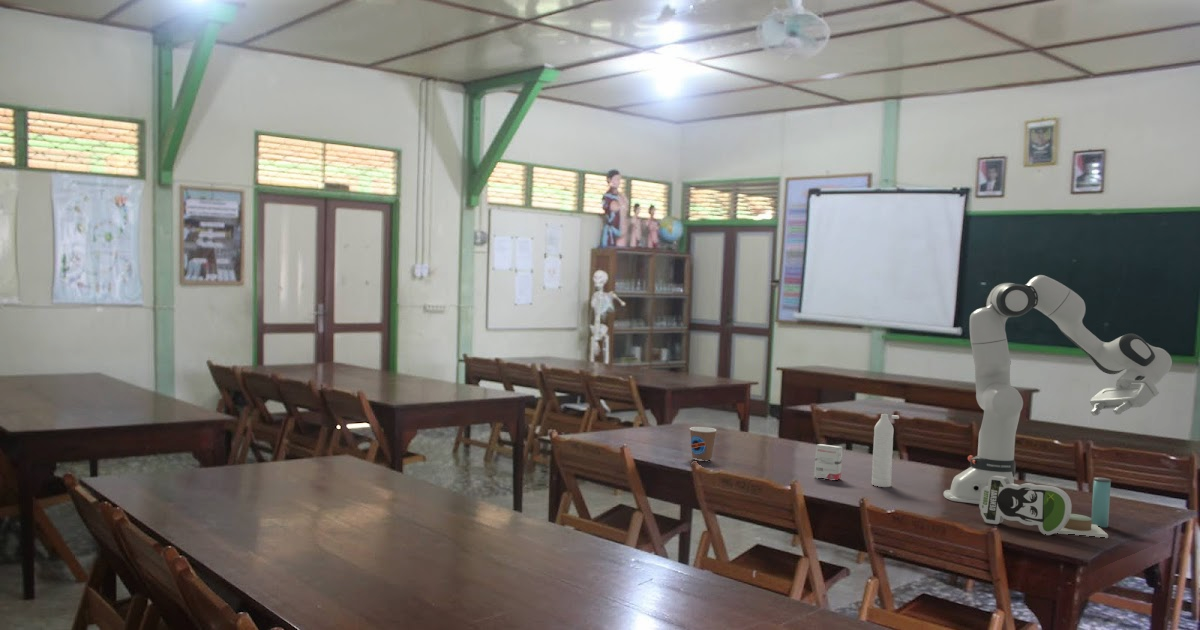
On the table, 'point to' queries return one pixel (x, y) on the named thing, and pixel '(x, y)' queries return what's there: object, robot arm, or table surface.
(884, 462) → the water bottle
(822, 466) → the ink box
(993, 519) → the cutout
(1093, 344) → the robot arm
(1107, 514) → the tube
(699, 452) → the coffee cup
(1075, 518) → the display stand
